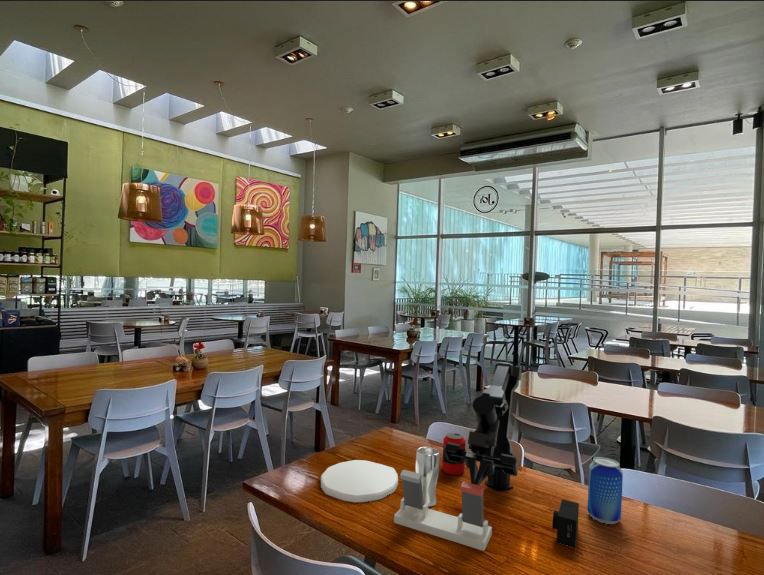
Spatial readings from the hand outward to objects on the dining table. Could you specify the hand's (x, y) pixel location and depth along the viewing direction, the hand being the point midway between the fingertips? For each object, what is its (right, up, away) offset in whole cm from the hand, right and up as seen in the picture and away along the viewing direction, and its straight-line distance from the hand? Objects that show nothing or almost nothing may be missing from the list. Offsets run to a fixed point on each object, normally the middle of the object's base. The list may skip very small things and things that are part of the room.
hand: (473, 490), depth 108 cm
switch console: (-7, -12, +4) cm, 15 cm away
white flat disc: (-30, -12, +29) cm, 44 cm away
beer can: (+40, -14, +13) cm, 44 cm away
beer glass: (-10, -12, +18) cm, 24 cm away
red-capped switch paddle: (0, -8, +1) cm, 8 cm away
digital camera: (+25, -14, +4) cm, 29 cm away
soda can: (+2, -13, +41) cm, 43 cm away
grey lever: (-14, -8, +8) cm, 18 cm away
